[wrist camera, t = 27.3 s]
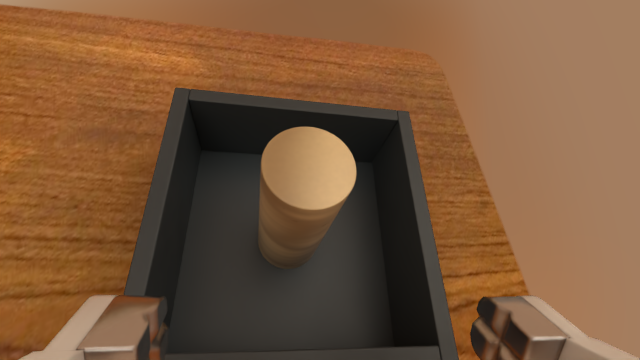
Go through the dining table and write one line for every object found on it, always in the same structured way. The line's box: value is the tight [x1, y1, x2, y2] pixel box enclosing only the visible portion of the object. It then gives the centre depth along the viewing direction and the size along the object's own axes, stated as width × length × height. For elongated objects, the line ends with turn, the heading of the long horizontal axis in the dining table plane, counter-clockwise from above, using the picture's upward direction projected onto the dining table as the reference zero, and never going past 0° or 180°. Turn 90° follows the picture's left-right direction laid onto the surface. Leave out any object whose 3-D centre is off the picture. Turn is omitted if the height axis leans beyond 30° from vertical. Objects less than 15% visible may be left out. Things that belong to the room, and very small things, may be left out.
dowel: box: [258, 127, 357, 269], centre depth 16 cm, size 4×4×9 cm
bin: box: [124, 88, 459, 360], centre depth 18 cm, size 14×14×6 cm
